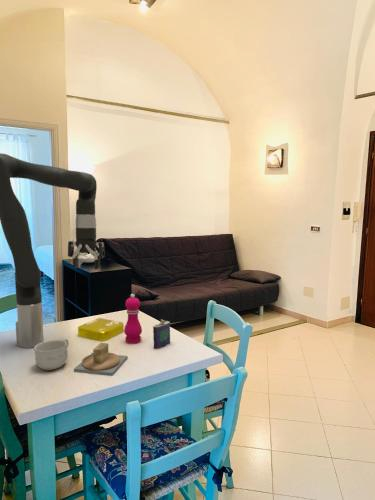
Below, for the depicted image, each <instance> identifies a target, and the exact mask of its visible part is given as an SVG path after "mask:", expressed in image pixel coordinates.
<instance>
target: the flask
mask: <svg viewBox="0 0 375 500" xmlns="http://www.w3.org/2000/svg"><path fill="white" fill-rule="evenodd" d="M152 329H153V330H152V331H153V332H152V333H153V336H152V337H153V349H154V350H159V349H163V348H164V347H167V346H168V345H169V344H171V321H168V320H165V319H164V320H163V319H160V322H159V323H158V324H157V323H156V324H155V325H153V326H152Z"/></svg>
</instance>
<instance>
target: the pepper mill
mask: <svg viewBox="0 0 375 500" xmlns="http://www.w3.org/2000/svg"><path fill="white" fill-rule="evenodd" d="M124 303H125V308H126V314H127V321H126V323H125V326H124V332H123V333H124V335H126V336H125V342H126V343H127V344H130V345H131V344H132V345H133V344H138V343H140V342H141V341H142V337H141V335H142V332H143V329H142V325H141V322H140V319H139V313H140V309H139V308H140V306H141V301H140V300H139V298H137V297H135V294H134V293H131V294H130V297H128V298H127V299H126V300H125V302H124Z"/></svg>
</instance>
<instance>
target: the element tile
mask: <svg viewBox="0 0 375 500" xmlns="http://www.w3.org/2000/svg"><path fill="white" fill-rule="evenodd" d="M124 329H125V326H124V322H123V321H117V320H112V319H111V320H110V319H106V318H99V317H98V318H96V319H94V320H92V321H88V322H86V323H83V324H81V325H79V326H77V334H78V335H77V336H78V337H80V338H85V339H87V340H93V341H98V342H106V341H108V340H111V339H112V338H115V337H117V336H118V335H121V334H122V333H124Z"/></svg>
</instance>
